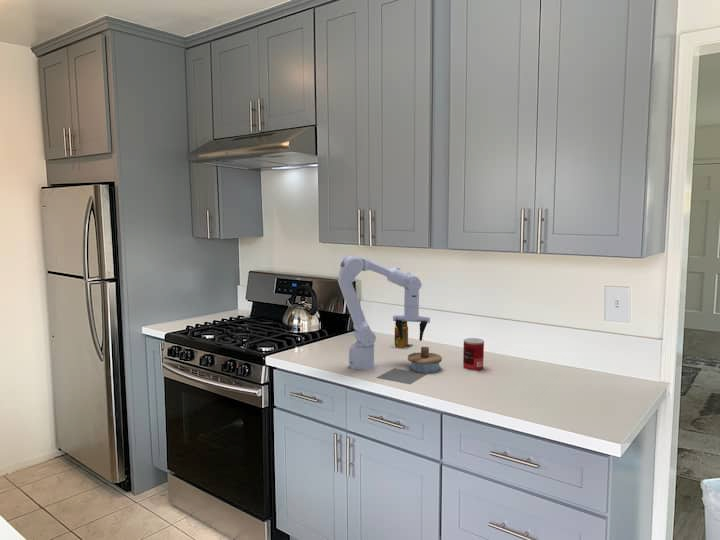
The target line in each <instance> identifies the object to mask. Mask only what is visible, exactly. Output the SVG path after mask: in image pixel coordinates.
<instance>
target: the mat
mask: <svg viewBox="0 0 720 540" xmlns="http://www.w3.org/2000/svg"><path fill="white" fill-rule="evenodd" d="M427 375H428V373H425V372H418V371H414V370H413V371H412V370H407V369H401V368H396V367H395V368H392V369H391V370H390V369H389V370H388V371H386V372H385V373H382V374H380V375H378V376H377V377H376V379H378V380H379V379H380V380H386V381H390V382H396V383H400V384H406V385H412V384H413V383H415V382H417V381H418V380H420V379H422V378H423V377H425V376H427Z"/></svg>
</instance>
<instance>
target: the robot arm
mask: <svg viewBox="0 0 720 540" xmlns="http://www.w3.org/2000/svg"><path fill="white" fill-rule="evenodd" d="M362 271H363V272H366V271H371V272H374V273H377V274H380V275H382V276H385V277H386V279H387V282H390V283H393V284H395V285H396V286H399V287H402V288H404V298H403V299H404V306H403V309H404V311H403V312H404V313H403V315H396V314H395V315H393V316H392V321H393V322H394V323H395V324H396V325H395V326H397V329H398V331H399V334H400V339H401V340H402V339H403V321H407V322H408V323H409V322H411V323H419V341H420V342H422V340H423V337H424V336H423V335H424V332H425V329H426V327H427V324H430V322H431V317H428V316H422V315H419V313H420V311H419V310H420V309H419V307H420V289H421V288H422V285H423V284H422V282H421V279H420V278H419V277H417V276H415V275H412V273H411V272H409V271H408V272H406V271H403V270H401V268H400V267H397V266H396V267H391V268H387V267H385V266H383V265H381V264H379V263H377V262H375V261H372V260H370V259H367V258H363V257H359V256H355V255H353V254H348V255H346V256H345V257H344V258H343V259H342V261H341V262H340V265H339V273H338V279H337V283H338V286H339V288H340V290H341V294H342V297H343V299H344V301H345V304H346V307H347V310H348V312H349V315H350V317H351V320H352V323H353V329H354V333H353V335H354V338H355V340H356V342H355V343H352V344H351V345H350V346H349V348H348V349H349V350H348V366H347V367H348V368H349V367H350V368H349V369H356V370H362V371H368V372H369V371H371V370H373V369H375V368H377V367H378V366H379V364H375V343H376V339H377V336H376V334H375V333H374V331H373V330H372V329H371V327H370V325H369V323H368V322H367V320H366V316H365V315H364V311H363V310H362V306H361V304H360V300H359V298H358V294H357V292H356V290H355V288H354V285H353V282H354V281H355V279H356V277H357V276H358V275H359V274H360V273H361V272H362ZM395 321H396V322H395Z"/></svg>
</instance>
